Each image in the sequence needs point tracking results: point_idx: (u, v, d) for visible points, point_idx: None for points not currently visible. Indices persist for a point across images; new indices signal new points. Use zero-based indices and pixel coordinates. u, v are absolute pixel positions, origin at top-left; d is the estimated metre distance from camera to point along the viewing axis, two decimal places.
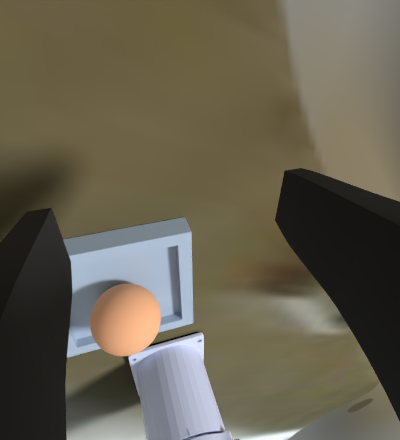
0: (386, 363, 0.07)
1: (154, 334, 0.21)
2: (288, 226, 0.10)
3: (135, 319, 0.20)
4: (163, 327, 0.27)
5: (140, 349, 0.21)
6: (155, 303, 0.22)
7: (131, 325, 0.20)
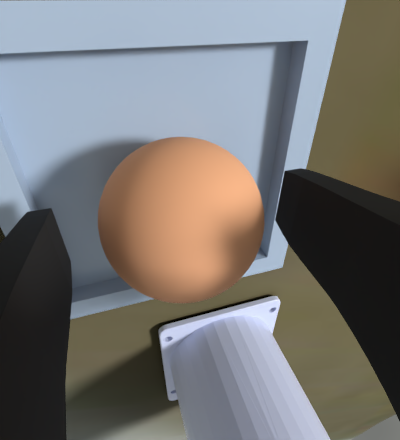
0: (386, 363, 0.07)
1: (258, 248, 0.08)
2: (288, 226, 0.10)
3: (223, 192, 0.07)
4: None
5: (227, 282, 0.08)
6: (253, 180, 0.09)
7: (214, 205, 0.07)
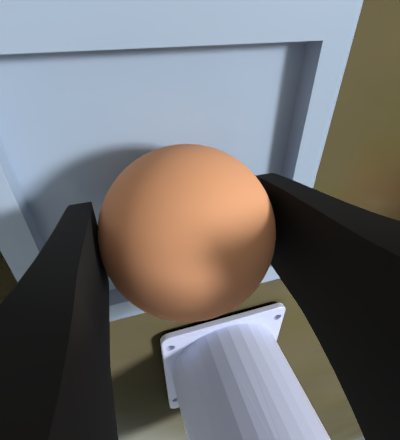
0: (350, 376, 0.07)
1: (269, 264, 0.08)
2: None
3: (234, 205, 0.07)
4: None
5: (237, 301, 0.07)
6: (264, 190, 0.08)
7: (225, 220, 0.06)
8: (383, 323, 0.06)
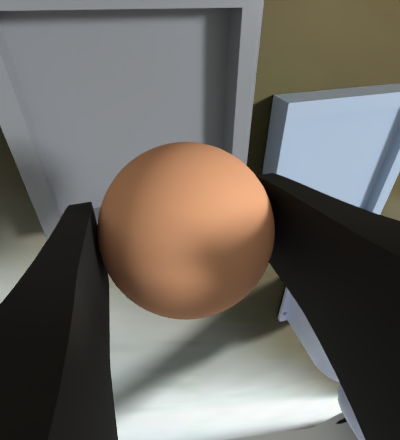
0: (350, 376, 0.07)
1: (268, 260, 0.08)
2: None
3: (230, 203, 0.07)
4: None
5: (235, 298, 0.07)
6: (262, 186, 0.08)
7: (220, 218, 0.06)
8: (383, 323, 0.06)
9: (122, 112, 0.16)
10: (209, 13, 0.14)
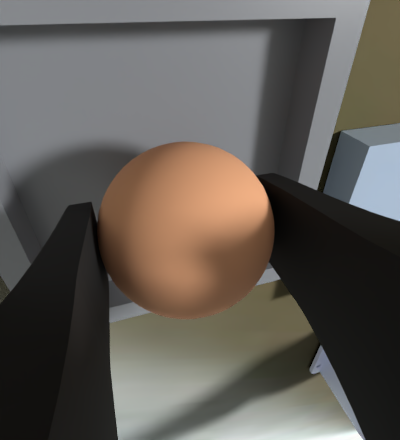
0: (350, 376, 0.07)
1: (268, 260, 0.08)
2: None
3: (229, 202, 0.07)
4: None
5: (235, 298, 0.07)
6: (262, 186, 0.08)
7: (220, 218, 0.06)
8: (383, 323, 0.06)
9: None
10: (276, 25, 0.10)
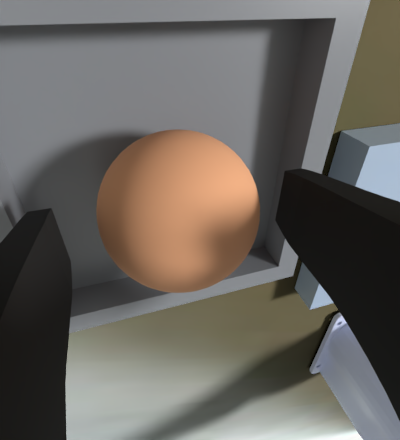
0: (385, 362, 0.07)
1: (253, 237, 0.09)
2: (288, 226, 0.10)
3: (216, 181, 0.07)
4: None
5: (223, 271, 0.08)
6: (249, 171, 0.09)
7: (207, 194, 0.07)
8: None
9: None
10: (276, 25, 0.10)
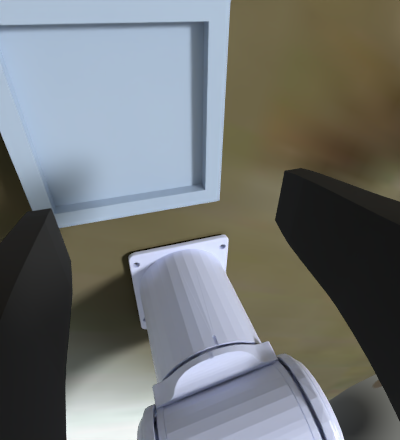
0: (385, 362, 0.07)
1: None
2: (288, 226, 0.10)
3: None
4: (179, 200, 0.19)
5: None
6: None
7: None
8: None
9: None
10: None
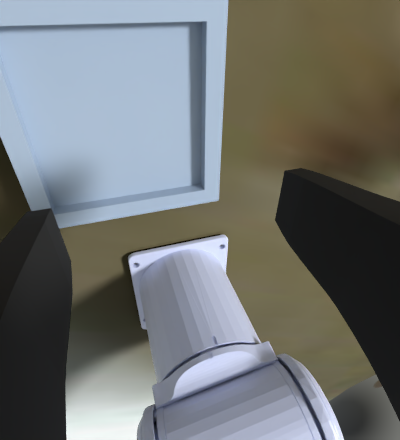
0: (385, 363, 0.07)
1: None
2: (288, 226, 0.10)
3: None
4: (178, 200, 0.19)
5: None
6: None
7: None
8: None
9: None
10: None
